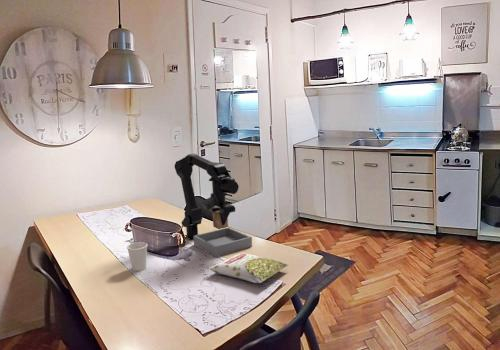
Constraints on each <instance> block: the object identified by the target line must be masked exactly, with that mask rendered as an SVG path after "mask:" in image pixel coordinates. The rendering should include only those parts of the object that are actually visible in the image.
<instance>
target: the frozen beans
mask: <svg viewBox="0 0 500 350" xmlns="http://www.w3.org/2000/svg"><path fill="white" fill-rule="evenodd" d="M288 266H289V264H287V263H284V262H281V261H279V260H275V259H273V258H272V259H271V258H267V257H264V256H263V257H262V256H259V255H254V254H250V253H241V252H240V253H237V254H234V255H233V256H231V257H229V258H228V259H226V260H223V261H221V262H220V263H217V264H215V265H213V266H211V267H208V269H209V271H211V272H214V273H216V274H220V275H224V276H228V277H231V278H235V279H239V280H243V281H247V282H250V283H254V284H261V283H263V282H264V281H266V280H267V279H270V278H271V277H273V276H274V275H275V274H277V273H278V272H280V271H281V270H283V269H284V268H286V267H288Z"/></svg>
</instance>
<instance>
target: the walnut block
mask: <svg viewBox="0 0 500 350" xmlns="http://www.w3.org/2000/svg"><path fill="white" fill-rule="evenodd" d="M218 212H220V211H216V212H212V225H213V226H212V227H213V228H215V229H216V230H219V229H223V228H228V227H229V224H228V223H229V221H228V219H229V217H228V218H227V220H226V223H225V225H222V221H221V215H220V214H219V213H218Z"/></svg>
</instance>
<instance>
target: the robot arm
mask: <svg viewBox="0 0 500 350" xmlns="http://www.w3.org/2000/svg"><path fill="white" fill-rule="evenodd" d="M194 166H197V167H198V168H200V169H203V170H204V171H206V174H208V176H210V178H209V179H208V182H211V185H212V186H211V187H212V189H211V190H212V193H210V197H208V198H205V199H204V200H202V201H201V205H202V207H199V206H198V205H197V202H196V196H195V192H194V186H193V181H192V177H191V176H192V174H193V167H194ZM174 170H175V173H176V175H177V176H178V178H180V181H181V185H182V186H181V187H182V190H183V192H182V193H183V195H184V201H185V206H186V207H185V210H184V218H183V219H182V221H181V226H182V227H184V228H185V229H186V231H185V232H186V234H185V236H186V237H185V238H186V239H188V240H194V238H193V236H195V235H199V229H198V225H201V224H202V221H203V216H204V214H203V211H202V208H203V209H204V210H207V211H209V210H210V211H211V212H212V213H213V212H216V211H220V212H218V213H219V214H220V215H221V221H222V225H225V223H226V220H227V218H228V219H229V216H230V214H231V213H235V212H236V207H235V206H234V205H232V204H231V203H229V204H228V201H227V200H226V196H227V195H228V194H231V195H235V194H237V193H238V191H239V188H240V187H239V183H238V182H237V181H236V179H235V178H232V176H231V174H230V173H229V171H228V169H227V167H226V165H225V164H224V163H221V162H215V161H214V162H213V161H210V160H209V159H206V158H205V157H202V156H200V155H198V154H197V153H190V154H187V155H185V157H183V158H180V159H179V160H176V161H175V164H174Z"/></svg>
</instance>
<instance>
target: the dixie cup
mask: <svg viewBox="0 0 500 350" xmlns="http://www.w3.org/2000/svg"><path fill="white" fill-rule="evenodd" d="M126 249H127V252H128V257H129V261H130V264H131V270H132V271H134V272H140V271H144V270H146V269H147V255H148V253H147V252H148V243H147V242H143V241H138V242H132V243H130V244H128V245H127V246H126Z"/></svg>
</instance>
